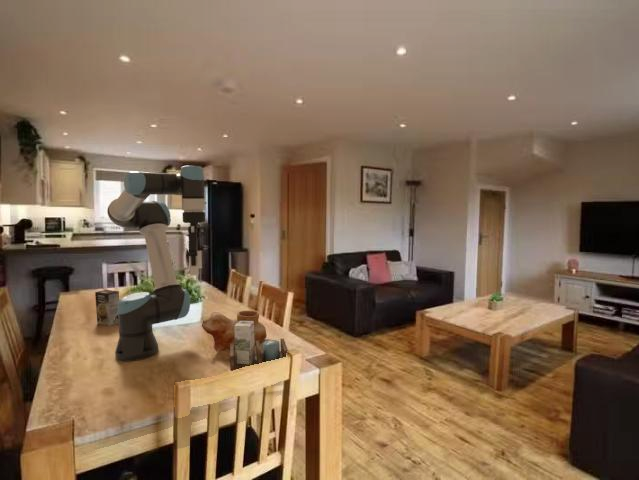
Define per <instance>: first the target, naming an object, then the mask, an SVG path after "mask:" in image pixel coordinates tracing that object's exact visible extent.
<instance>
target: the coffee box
mask: <svg viewBox="0 0 639 480" xmlns="http://www.w3.org/2000/svg"><path fill="white" fill-rule="evenodd" d="M94 295H95V297H94V298H95V308H96V323H97V324H98V325H103V326H109V327H110V326H113V325H117V324H119V322H118V313H117V311H118V302H119V300H120V291H119V290H110V289H104V290H99V291H95V292H94Z"/></svg>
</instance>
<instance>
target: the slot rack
mask: <svg viewBox="0 0 639 480" xmlns="http://www.w3.org/2000/svg"><path fill="white" fill-rule="evenodd" d="M287 351H288V352H289V349H288V347H287V344H286V341H285V339H284V338H280V358H283V357H286V353H287ZM262 362H266V361H264V360H263V352H262V350H261V343H259V341H256V345H255V359H254V361H253V362H252V364H251V365H254V364H259V363H262ZM229 365H230V368H229V369H230V371H236V370H235V369H239V368H242V367H245V366H250V365H241V364H236V355H235V349H234V343H230V349H229ZM239 370H240V369H239Z"/></svg>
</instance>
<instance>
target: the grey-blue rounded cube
mask: <svg viewBox="0 0 639 480" xmlns="http://www.w3.org/2000/svg"><path fill="white" fill-rule="evenodd" d="M262 351H263V352H262V353H263V360H264V361H271V360H275V359H279V358H280V351H281V344H280V341H279V340H276V339H267V340H264V341H262Z"/></svg>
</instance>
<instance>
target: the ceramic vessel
mask: <svg viewBox="0 0 639 480" xmlns="http://www.w3.org/2000/svg"><path fill="white" fill-rule="evenodd" d="M259 318H260V312H259V311H257V310H240V311H238V312H237V314H236V318H235V319H231V318H229V317H227V316H226V315H224V314H223V313H221V312H219V311H213V312H212V313H211V314H210V315H209V317H208V318H206V319H203V320H202V322H201V323H202V324H201V328H202V329H203V331H204V332H206V333H207V334H209V335H211V336H212V338H213V348H214V350H215V352H218V350H219V351H226V350H230V343H234V350H235V329H234V326H235V324H236V323H237V322H238V321H254V346H256V341H259V344H261V342H262V343H263V342H264V341H266V338H267V330H266V327H265V325H264V324H263V323H262V322H260V321H259Z"/></svg>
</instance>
